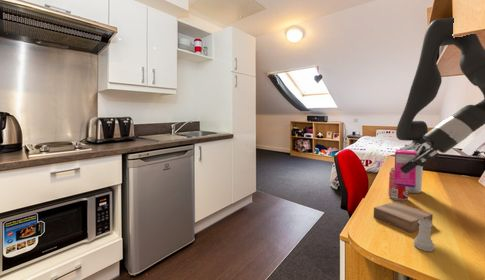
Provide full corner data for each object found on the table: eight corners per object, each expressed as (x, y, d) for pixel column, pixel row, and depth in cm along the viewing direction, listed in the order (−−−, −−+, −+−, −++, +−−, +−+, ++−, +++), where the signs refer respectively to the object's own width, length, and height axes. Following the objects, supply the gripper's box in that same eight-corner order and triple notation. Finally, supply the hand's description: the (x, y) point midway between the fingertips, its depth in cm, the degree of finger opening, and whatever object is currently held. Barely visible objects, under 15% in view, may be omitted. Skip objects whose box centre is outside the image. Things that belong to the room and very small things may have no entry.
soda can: (405, 202, 91) (407, 172, 90) (385, 198, 97) (387, 169, 95) (410, 198, 96) (412, 169, 95) (390, 194, 101) (392, 166, 100)
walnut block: (394, 211, 84) (395, 201, 84) (431, 225, 73) (432, 214, 73) (373, 218, 79) (374, 207, 79) (410, 234, 69) (411, 222, 68)
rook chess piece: (428, 254, 58) (430, 225, 57) (409, 245, 62) (411, 218, 61) (437, 249, 60) (440, 221, 59) (419, 241, 64) (421, 214, 63)
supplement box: (394, 180, 79) (396, 149, 78) (415, 183, 75) (418, 150, 74) (393, 184, 75) (394, 151, 73) (415, 188, 71) (417, 152, 70)
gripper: (428, 125, 76) (386, 156, 82) (446, 127, 63) (395, 164, 69) (446, 140, 75) (403, 171, 81) (469, 146, 62) (415, 182, 68)
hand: (399, 168), depth 75 cm, fingers closed on supplement box, 7 cm apart
